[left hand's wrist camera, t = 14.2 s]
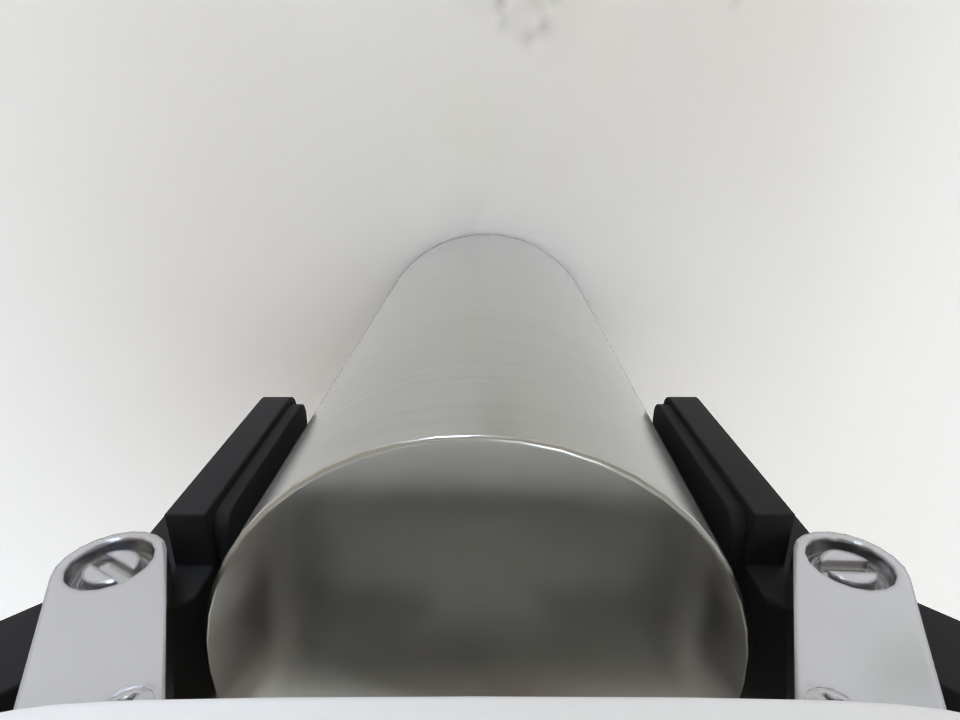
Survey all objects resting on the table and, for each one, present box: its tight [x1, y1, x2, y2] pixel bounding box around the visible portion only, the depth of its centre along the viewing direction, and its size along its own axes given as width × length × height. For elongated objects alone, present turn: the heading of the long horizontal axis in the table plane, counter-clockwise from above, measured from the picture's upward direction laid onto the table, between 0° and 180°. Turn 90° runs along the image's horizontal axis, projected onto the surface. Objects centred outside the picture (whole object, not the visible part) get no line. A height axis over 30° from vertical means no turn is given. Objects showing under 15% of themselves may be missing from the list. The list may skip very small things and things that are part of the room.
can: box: [205, 234, 750, 699], centre depth 13 cm, size 7×7×12 cm
